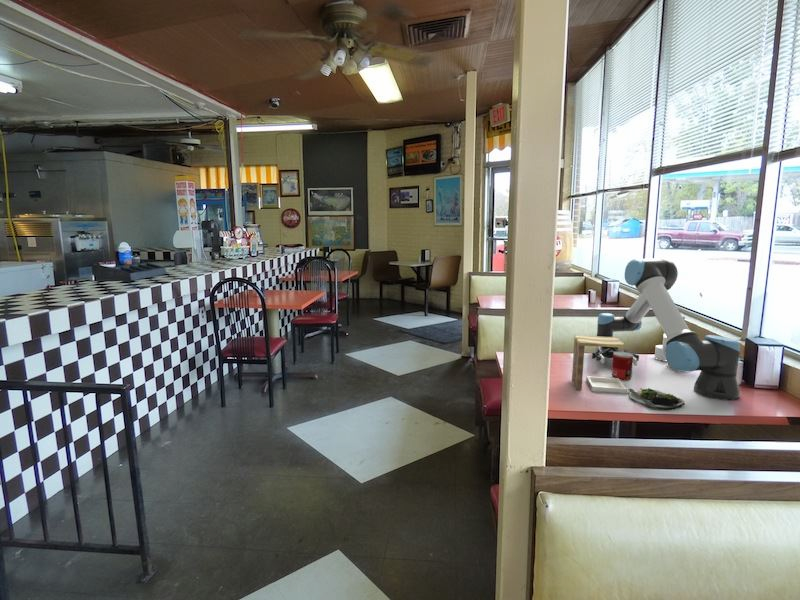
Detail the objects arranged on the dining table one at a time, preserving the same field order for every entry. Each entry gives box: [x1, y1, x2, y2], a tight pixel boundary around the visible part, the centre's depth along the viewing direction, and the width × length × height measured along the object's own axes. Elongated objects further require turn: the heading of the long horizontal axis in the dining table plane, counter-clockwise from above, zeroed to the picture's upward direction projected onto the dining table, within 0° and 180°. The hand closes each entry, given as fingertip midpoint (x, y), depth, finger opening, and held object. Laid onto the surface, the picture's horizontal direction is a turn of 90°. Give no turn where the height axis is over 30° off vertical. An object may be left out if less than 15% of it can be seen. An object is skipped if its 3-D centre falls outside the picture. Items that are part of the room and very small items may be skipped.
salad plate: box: [627, 387, 685, 411], centre depth 176 cm, size 19×18×5 cm
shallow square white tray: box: [585, 375, 628, 395], centre depth 190 cm, size 13×13×2 cm
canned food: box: [611, 350, 633, 381], centre depth 200 cm, size 8×8×11 cm
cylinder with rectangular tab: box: [654, 333, 668, 361], centre depth 227 cm, size 9×9×12 cm
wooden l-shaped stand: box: [571, 334, 626, 391], centre depth 189 cm, size 12×17×20 cm
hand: (619, 361), depth 203 cm, fingers open, 13 cm apart
